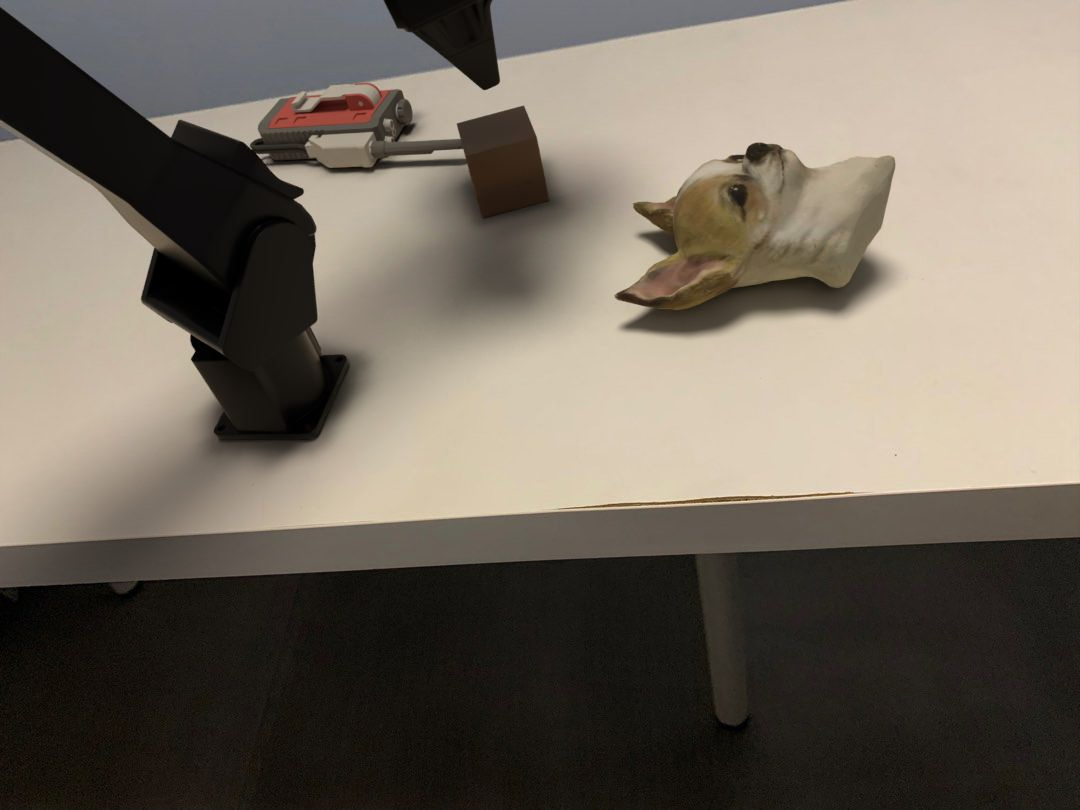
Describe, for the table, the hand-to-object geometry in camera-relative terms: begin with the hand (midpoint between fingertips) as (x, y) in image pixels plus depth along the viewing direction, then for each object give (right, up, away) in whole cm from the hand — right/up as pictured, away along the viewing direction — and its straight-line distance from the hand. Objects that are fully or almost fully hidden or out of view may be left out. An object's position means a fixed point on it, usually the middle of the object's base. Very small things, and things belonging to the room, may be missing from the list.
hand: (475, 47), depth 51 cm
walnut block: (+2, -6, +11) cm, 13 cm away
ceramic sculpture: (+17, -14, 0) cm, 22 cm away
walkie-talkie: (-10, 0, +20) cm, 23 cm away
